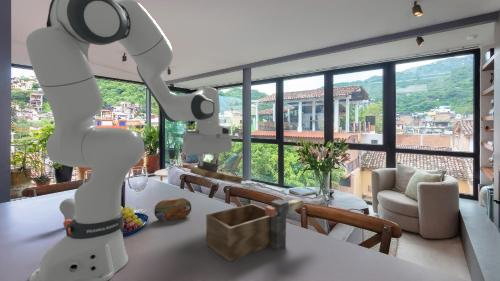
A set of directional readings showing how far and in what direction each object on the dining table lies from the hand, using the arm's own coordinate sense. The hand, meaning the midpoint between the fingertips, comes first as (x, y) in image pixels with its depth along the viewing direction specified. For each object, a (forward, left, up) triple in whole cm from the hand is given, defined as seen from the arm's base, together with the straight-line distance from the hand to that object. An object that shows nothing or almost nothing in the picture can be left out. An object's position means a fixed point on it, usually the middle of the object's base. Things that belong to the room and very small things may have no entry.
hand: (208, 165), depth 98 cm
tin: (-8, +16, -25) cm, 30 cm away
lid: (+4, -2, -5) cm, 7 cm away
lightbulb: (-43, +32, -25) cm, 59 cm away
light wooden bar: (+13, -29, -13) cm, 34 cm away
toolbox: (+2, -22, -24) cm, 33 cm away
